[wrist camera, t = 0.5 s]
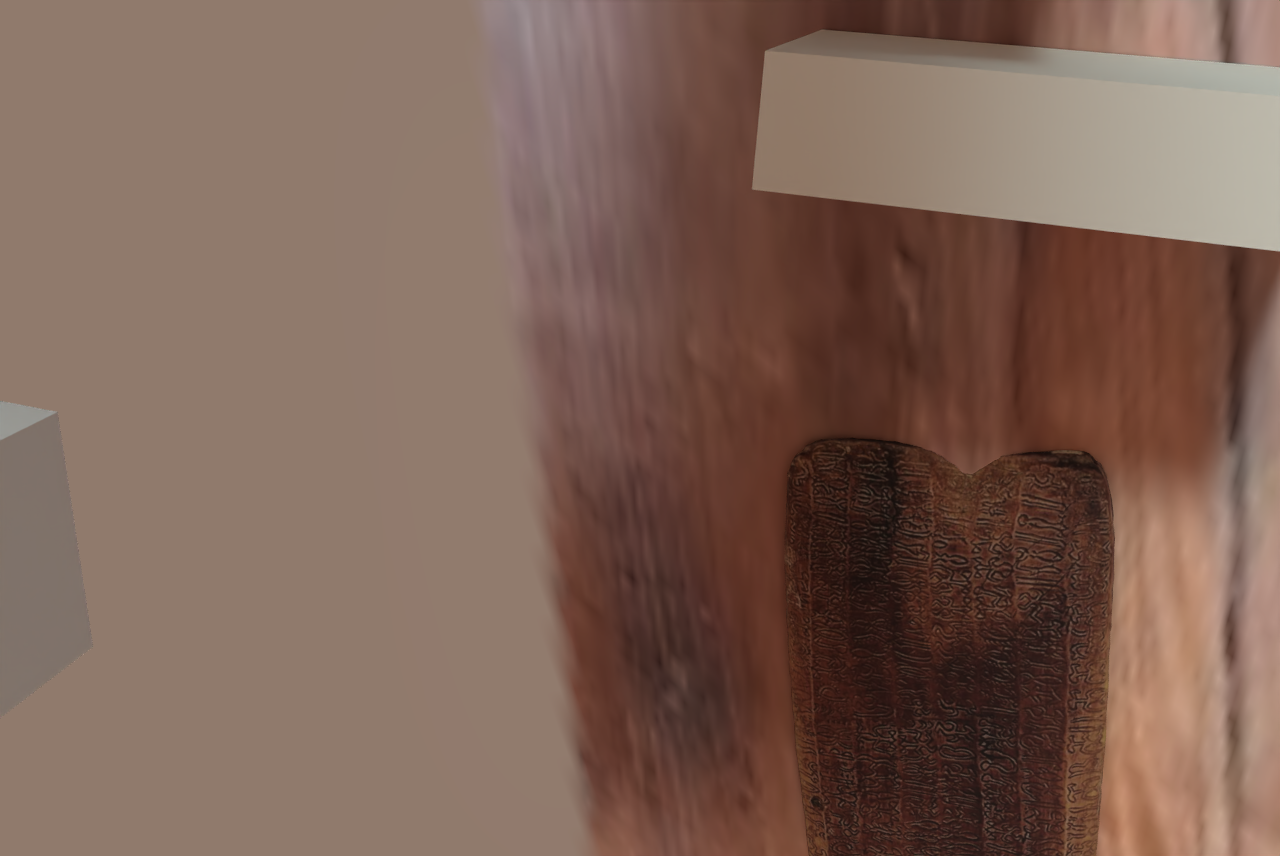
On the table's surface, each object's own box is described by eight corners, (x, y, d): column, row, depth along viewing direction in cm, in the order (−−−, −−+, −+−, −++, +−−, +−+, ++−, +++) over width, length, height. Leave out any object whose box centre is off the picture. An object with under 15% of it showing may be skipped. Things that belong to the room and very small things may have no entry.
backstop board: (822, 29, 33) (765, 50, 26) (1341, 72, 30) (1440, 110, 23) (809, 140, 34) (751, 189, 27) (1308, 193, 31) (1392, 264, 24)
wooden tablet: (1086, 1144, 43) (804, 1118, 45) (1075, 1090, 45) (806, 1068, 47) (1129, 454, 34) (775, 458, 36) (1114, 427, 36) (779, 431, 38)
